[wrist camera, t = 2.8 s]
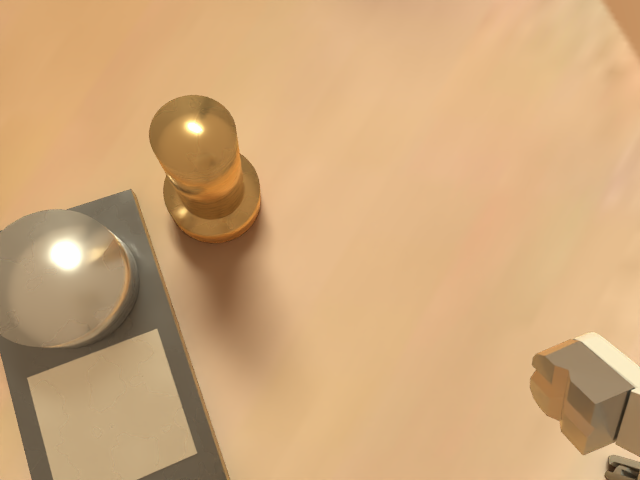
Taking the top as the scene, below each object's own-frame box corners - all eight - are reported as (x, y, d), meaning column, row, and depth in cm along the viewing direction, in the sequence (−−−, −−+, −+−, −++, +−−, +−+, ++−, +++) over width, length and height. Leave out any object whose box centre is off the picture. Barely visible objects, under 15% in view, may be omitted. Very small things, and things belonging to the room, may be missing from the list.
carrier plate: (257, 564, 25) (255, 601, 21) (85, 649, 23) (48, 706, 19) (135, 194, 29) (114, 169, 25) (-18, 244, 27) (-65, 224, 23)
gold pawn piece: (273, 225, 29) (274, 168, 21) (186, 256, 28) (149, 209, 20) (243, 148, 31) (232, 64, 22) (158, 175, 29) (112, 97, 21)
